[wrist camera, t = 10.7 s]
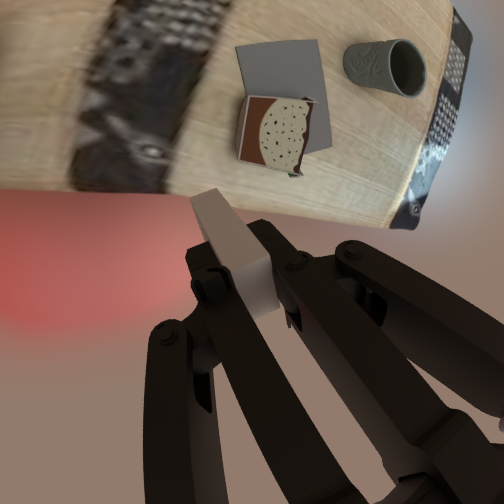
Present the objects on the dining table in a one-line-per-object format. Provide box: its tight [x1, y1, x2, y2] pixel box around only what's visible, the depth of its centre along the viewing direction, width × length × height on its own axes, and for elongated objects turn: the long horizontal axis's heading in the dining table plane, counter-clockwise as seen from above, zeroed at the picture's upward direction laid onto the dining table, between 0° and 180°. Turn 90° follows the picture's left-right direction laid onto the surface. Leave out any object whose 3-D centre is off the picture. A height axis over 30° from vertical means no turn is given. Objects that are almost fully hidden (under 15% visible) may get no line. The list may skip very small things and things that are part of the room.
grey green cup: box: [343, 39, 427, 98], centre depth 33 cm, size 10×10×12 cm
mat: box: [235, 40, 332, 155], centre depth 38 cm, size 14×20×1 cm
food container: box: [236, 95, 320, 178], centre depth 37 cm, size 12×6×10 cm
